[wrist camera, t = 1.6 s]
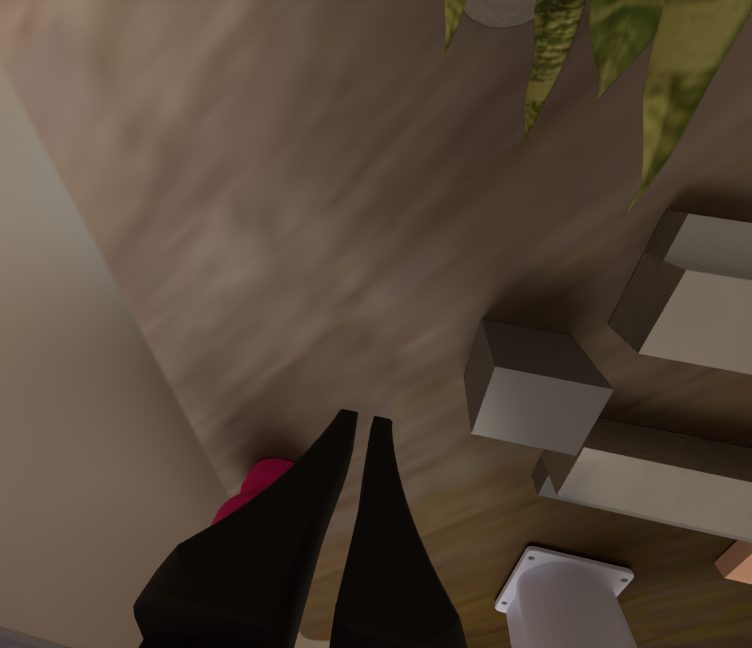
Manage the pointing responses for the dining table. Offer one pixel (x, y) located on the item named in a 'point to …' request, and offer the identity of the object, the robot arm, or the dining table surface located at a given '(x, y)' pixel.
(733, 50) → the dining table surface
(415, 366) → the dining table surface
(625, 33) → the house plant
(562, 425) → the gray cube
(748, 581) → the pad
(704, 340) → the parallel gray bars
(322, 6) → the dining table surface
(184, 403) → the dining table surface
